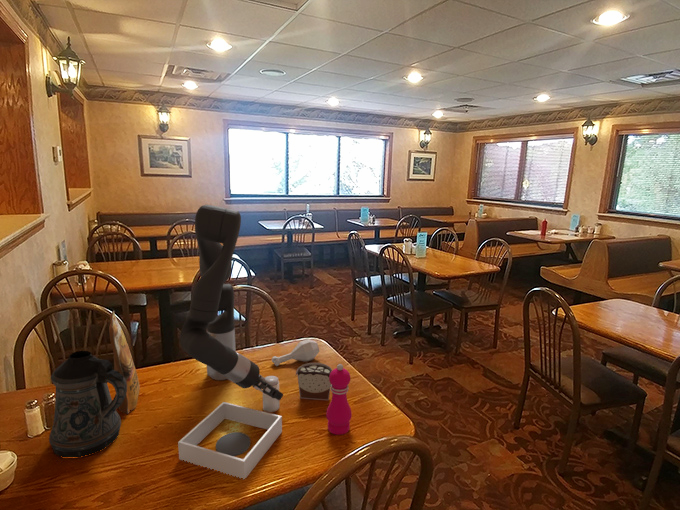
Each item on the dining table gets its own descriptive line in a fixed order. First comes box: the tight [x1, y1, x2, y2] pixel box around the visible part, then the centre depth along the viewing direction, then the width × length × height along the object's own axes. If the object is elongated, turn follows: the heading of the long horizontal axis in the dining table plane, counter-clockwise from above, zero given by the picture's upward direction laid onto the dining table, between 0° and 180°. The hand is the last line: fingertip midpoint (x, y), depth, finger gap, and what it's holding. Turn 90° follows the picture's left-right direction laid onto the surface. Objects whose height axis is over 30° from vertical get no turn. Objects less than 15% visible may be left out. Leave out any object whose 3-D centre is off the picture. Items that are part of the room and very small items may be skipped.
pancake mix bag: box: [108, 310, 141, 414], centre depth 126 cm, size 7×19×28 cm, turn 20°
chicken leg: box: [271, 338, 320, 367], centre depth 156 cm, size 8×18×8 cm, turn 112°
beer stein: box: [48, 350, 127, 457], centre depth 109 cm, size 16×19×25 cm
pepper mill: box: [325, 363, 352, 436], centre depth 116 cm, size 7×7×20 cm
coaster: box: [215, 431, 251, 457], centre depth 110 cm, size 9×9×1 cm
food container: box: [295, 362, 333, 401], centre depth 134 cm, size 12×6×10 cm, turn 84°
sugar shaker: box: [262, 375, 280, 413], centre depth 126 cm, size 5×5×10 cm
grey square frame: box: [177, 401, 283, 480], centre depth 109 cm, size 19×19×5 cm
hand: (276, 393), depth 127 cm, fingers closed on sugar shaker, 5 cm apart
